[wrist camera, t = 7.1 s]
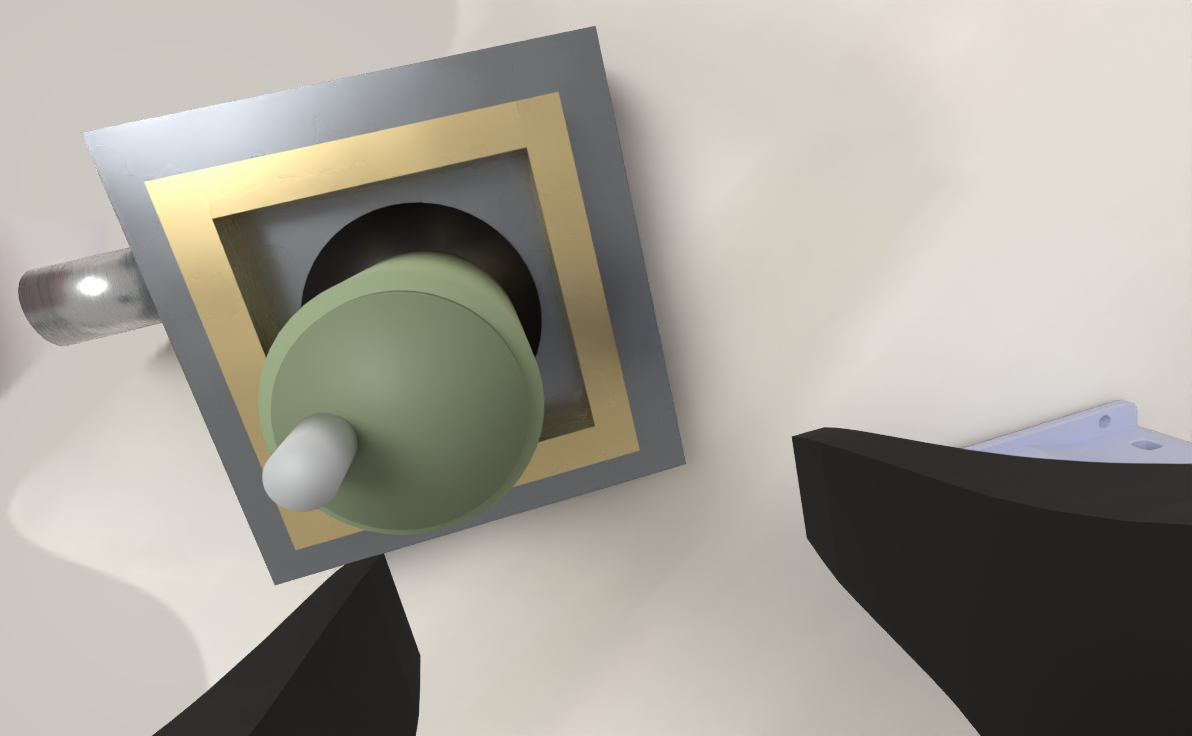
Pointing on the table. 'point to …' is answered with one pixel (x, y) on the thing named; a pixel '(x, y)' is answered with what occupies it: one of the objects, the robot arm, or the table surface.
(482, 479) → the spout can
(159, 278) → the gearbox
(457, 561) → the table surface
